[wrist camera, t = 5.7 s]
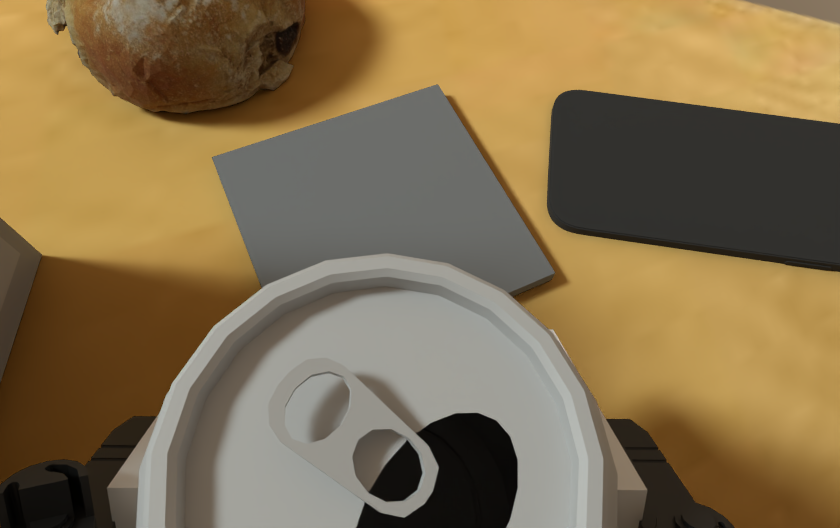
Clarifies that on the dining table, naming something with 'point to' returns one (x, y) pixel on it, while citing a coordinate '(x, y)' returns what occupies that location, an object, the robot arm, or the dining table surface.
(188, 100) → the bread roll
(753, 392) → the dining table surface
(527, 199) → the dining table surface
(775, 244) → the phone
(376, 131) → the mat
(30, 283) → the cabinet
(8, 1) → the dining table surface
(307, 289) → the can
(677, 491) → the robot arm
